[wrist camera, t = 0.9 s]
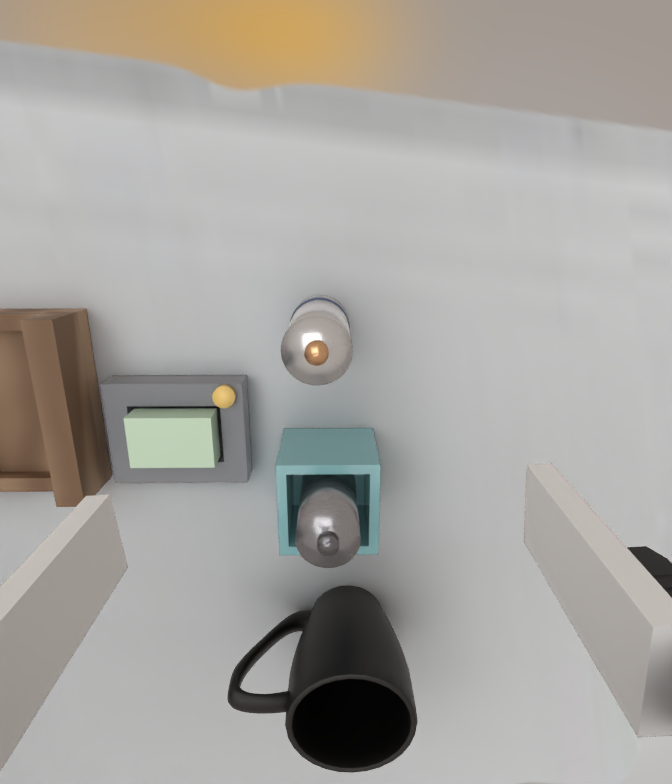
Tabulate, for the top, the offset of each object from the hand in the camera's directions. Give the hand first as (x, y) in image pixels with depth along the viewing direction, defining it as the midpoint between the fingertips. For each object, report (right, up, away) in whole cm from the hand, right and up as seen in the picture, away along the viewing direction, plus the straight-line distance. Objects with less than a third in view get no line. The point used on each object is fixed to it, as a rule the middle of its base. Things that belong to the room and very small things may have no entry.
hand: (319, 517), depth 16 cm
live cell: (-1, +8, +17) cm, 19 cm away
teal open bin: (0, -2, +20) cm, 20 cm away
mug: (0, -13, +24) cm, 28 cm away
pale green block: (-10, +1, +18) cm, 20 cm away
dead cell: (0, -2, +20) cm, 20 cm away
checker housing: (-10, +2, +19) cm, 22 cm away
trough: (-20, +4, +18) cm, 27 cm away
